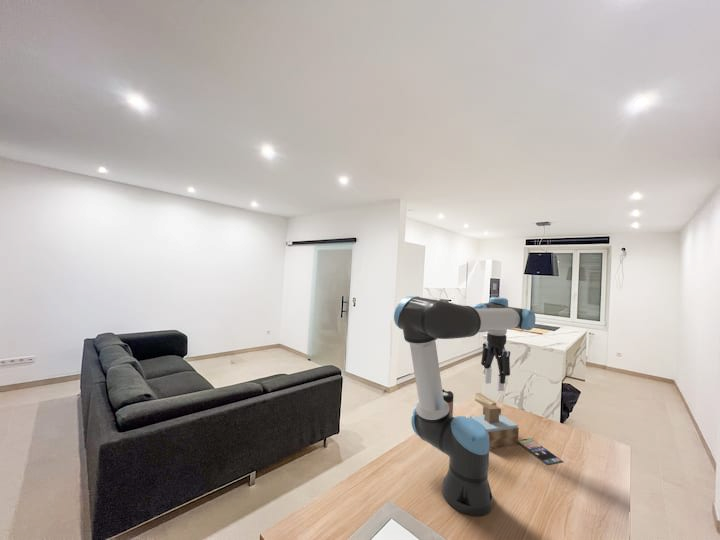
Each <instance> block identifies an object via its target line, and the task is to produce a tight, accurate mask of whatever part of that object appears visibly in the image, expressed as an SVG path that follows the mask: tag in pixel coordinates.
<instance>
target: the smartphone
mask: <svg viewBox="0 0 720 540" xmlns="http://www.w3.org/2000/svg"><path fill="white" fill-rule="evenodd" d="M517 445H519V446H520V447H522V449H524V450H526V451H528V452H529V453H530V454H531V455H532V456H534V457H536V458H537V459H538V460H539V461H541V462H542V463H544V464H545V465H546V466H549V465H554V464H560V463H563V462H564V461H563V460H562V459H561V458H560V457H558V456H557V455H555V454H554V453H552V452H551V451H550V450H548V449H547V448H545V447H544V446H542V445H541V444H539V443H538V442H537V441H535V440H534V439H533V438H531V437H529V438H524V439H518V444H517Z"/></svg>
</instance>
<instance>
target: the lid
mask: <svg viewBox="0 0 720 540" xmlns="http://www.w3.org/2000/svg"><path fill="white" fill-rule="evenodd" d="M500 409H501V408H500V407H499V408H498V406H497V405H496V406H495V405H490V406H485V415H483V414H478V415H472V416H470V417H469V418H472V419H474V420H476V421H478V422H479V423H481V424H482V425H483V426H484V427H485V428H486V430H487V431H488V432H493V431H500V430H507V429H514V428H519V427H518V426H519V425H518V424H517V423H516V422H514V421H512V420H511V419H509V418H508V417H507V416H505V415H503V414H502V413H501V414H500V413H499V411H500Z"/></svg>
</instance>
